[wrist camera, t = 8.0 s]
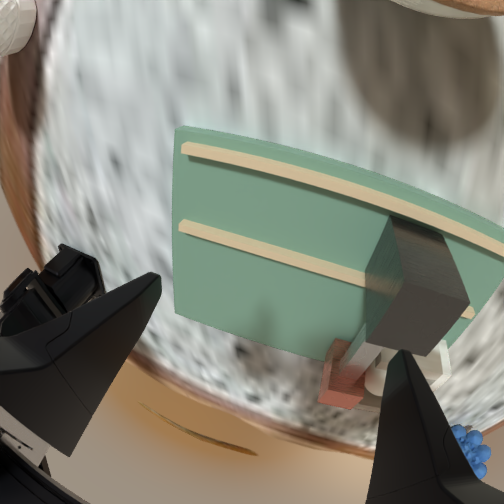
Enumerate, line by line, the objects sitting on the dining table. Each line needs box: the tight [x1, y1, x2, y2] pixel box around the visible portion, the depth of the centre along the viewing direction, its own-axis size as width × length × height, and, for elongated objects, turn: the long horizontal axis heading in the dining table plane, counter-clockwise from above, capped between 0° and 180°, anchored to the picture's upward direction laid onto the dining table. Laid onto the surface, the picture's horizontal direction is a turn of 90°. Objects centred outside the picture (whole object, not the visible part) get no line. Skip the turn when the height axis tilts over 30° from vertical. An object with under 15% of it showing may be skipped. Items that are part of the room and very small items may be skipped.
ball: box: [365, 359, 386, 396], centre depth 22 cm, size 4×4×4 cm
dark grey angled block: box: [318, 215, 470, 410], centre depth 18 cm, size 14×4×6 cm, turn 171°
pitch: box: [172, 126, 504, 362], centre depth 21 cm, size 18×26×2 cm
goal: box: [353, 339, 452, 413], centre depth 23 cm, size 8×7×5 cm
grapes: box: [451, 425, 491, 479], centre depth 26 cm, size 12×7×12 cm, turn 124°
